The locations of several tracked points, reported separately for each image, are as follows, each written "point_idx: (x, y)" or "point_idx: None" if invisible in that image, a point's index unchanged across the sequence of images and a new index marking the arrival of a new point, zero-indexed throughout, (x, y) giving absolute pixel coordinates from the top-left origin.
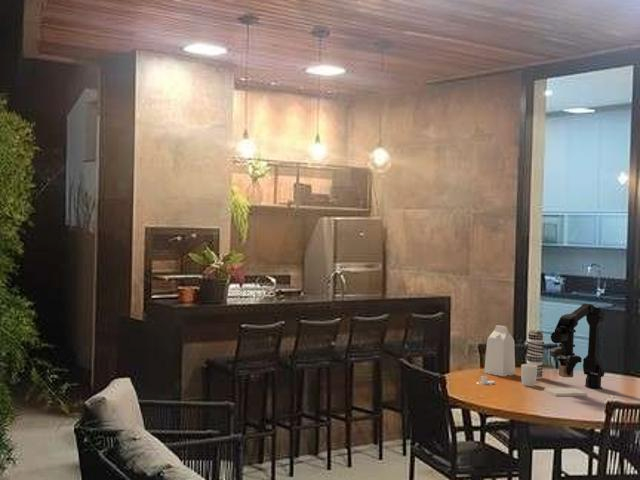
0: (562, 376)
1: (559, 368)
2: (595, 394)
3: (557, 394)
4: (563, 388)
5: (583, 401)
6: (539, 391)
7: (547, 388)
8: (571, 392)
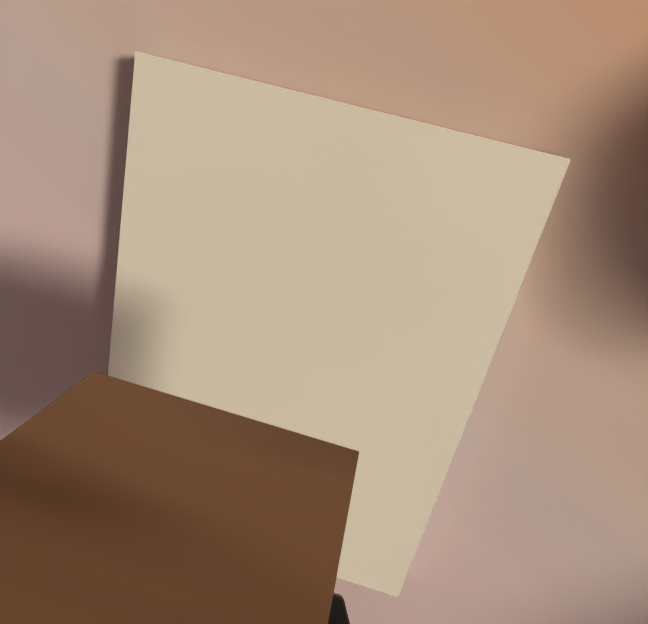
0: (139, 391)
1: (274, 610)
2: None
3: (140, 91)
4: (438, 457)
5: None
6: (546, 15)
7: (531, 205)
8: (169, 362)
